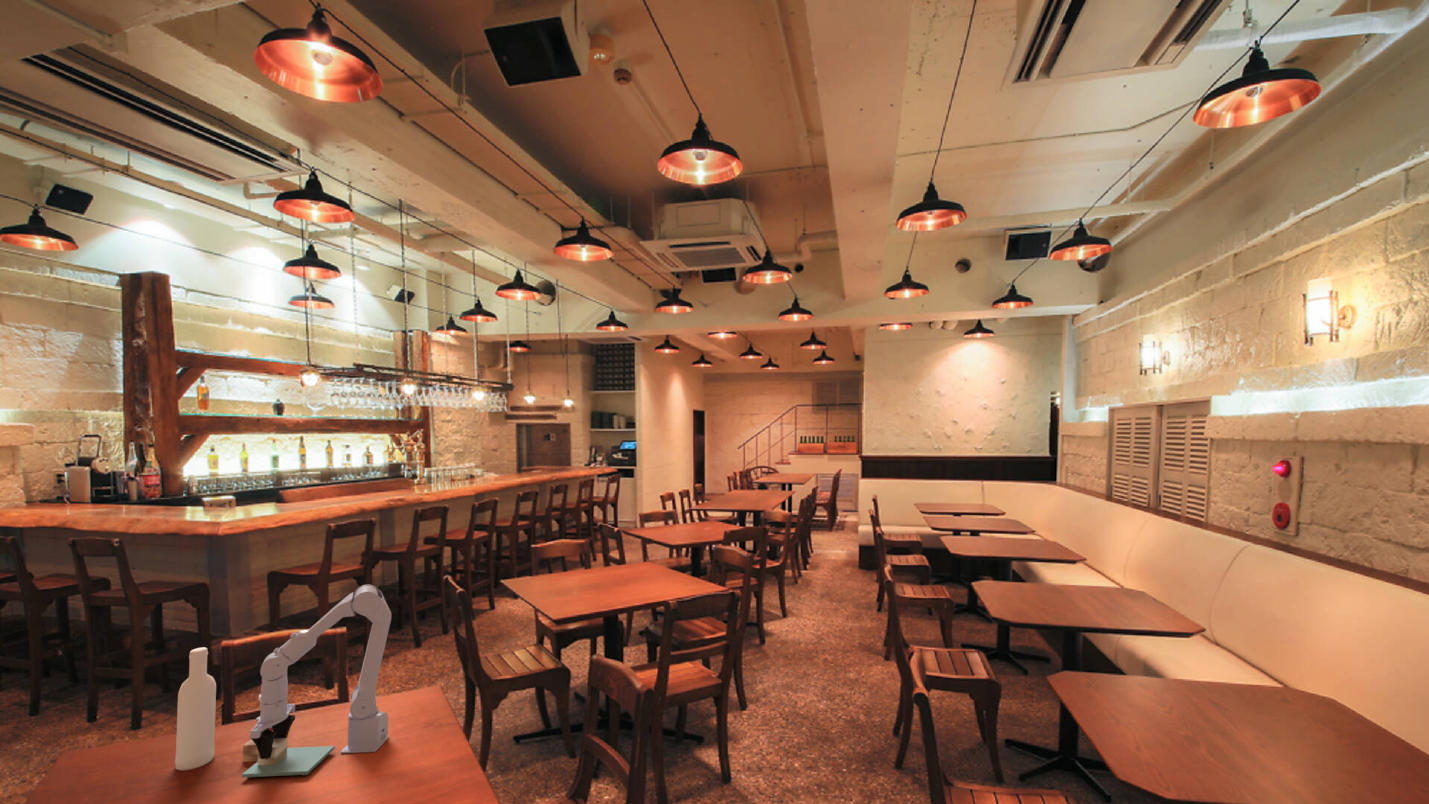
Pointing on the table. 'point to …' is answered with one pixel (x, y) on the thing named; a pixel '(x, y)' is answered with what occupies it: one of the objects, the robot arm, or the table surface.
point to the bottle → (196, 715)
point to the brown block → (250, 752)
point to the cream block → (275, 752)
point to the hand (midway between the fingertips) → (272, 752)
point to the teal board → (292, 762)
